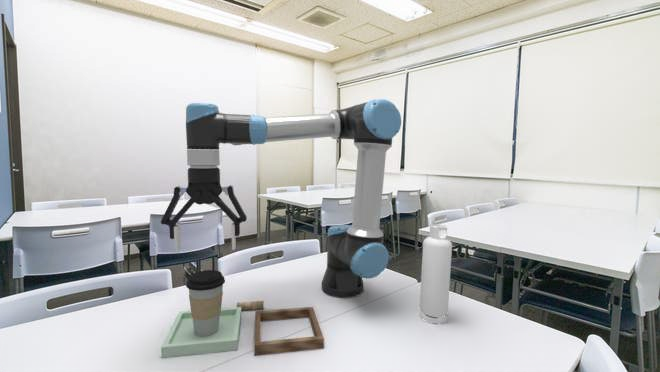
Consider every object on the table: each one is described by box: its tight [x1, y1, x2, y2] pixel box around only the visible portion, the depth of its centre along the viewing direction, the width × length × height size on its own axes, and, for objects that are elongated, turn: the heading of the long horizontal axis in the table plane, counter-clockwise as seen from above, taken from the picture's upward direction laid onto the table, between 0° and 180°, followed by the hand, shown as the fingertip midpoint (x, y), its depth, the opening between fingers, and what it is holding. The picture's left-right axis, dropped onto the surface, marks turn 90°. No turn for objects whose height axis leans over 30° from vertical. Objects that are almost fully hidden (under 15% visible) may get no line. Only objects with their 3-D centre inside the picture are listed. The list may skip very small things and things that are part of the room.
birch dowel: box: [236, 300, 265, 312], centre depth 98 cm, size 8×2×2 cm, turn 102°
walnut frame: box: [253, 306, 325, 356], centre depth 85 cm, size 17×17×2 cm
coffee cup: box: [185, 269, 226, 337], centre depth 83 cm, size 9×9×15 cm
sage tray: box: [160, 306, 242, 359], centre depth 84 cm, size 17×17×3 cm
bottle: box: [418, 223, 453, 324], centre depth 95 cm, size 8×8×28 cm
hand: (206, 249), depth 82 cm, fingers open, 13 cm apart
